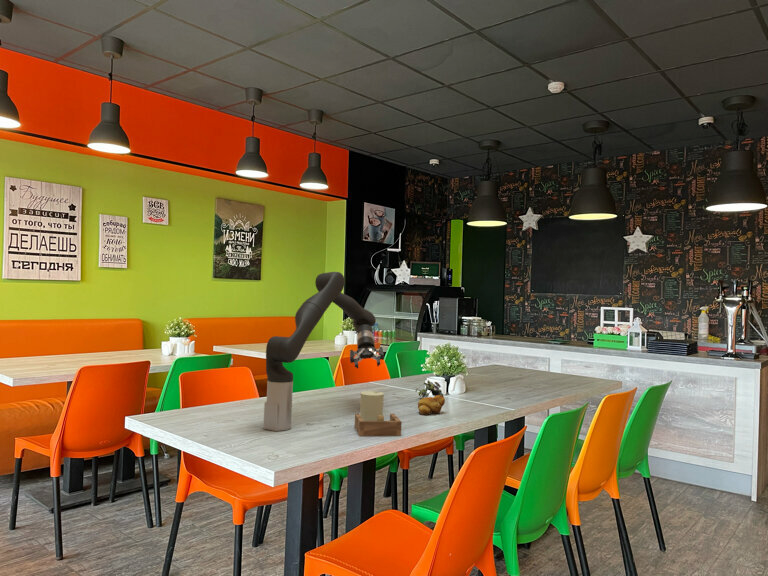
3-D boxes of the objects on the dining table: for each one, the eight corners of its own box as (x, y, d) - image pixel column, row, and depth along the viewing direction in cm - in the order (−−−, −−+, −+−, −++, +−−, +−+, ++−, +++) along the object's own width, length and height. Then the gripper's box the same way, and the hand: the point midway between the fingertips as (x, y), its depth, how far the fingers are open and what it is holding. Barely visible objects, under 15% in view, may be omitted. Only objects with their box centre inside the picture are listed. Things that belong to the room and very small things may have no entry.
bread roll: (427, 417, 230) (428, 397, 231) (410, 412, 237) (410, 394, 237) (446, 413, 240) (447, 394, 240) (429, 409, 246) (430, 391, 247)
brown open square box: (401, 435, 197) (401, 416, 197) (359, 436, 194) (360, 416, 194) (393, 426, 210) (394, 408, 210) (354, 427, 208) (355, 408, 208)
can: (387, 422, 218) (388, 391, 218) (374, 426, 210) (376, 394, 210) (367, 418, 222) (368, 389, 223) (354, 422, 214) (355, 391, 215)
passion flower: (436, 410, 270) (449, 393, 266) (420, 408, 263) (434, 390, 259) (425, 394, 278) (438, 377, 274) (409, 392, 271) (422, 374, 267)
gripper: (348, 337, 239) (349, 360, 225) (381, 333, 239) (384, 356, 225) (350, 351, 242) (351, 374, 228) (382, 347, 243) (385, 371, 229)
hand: (367, 365), depth 227 cm, fingers open, 8 cm apart
